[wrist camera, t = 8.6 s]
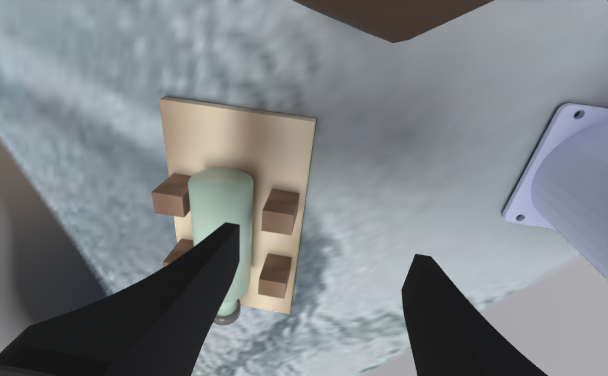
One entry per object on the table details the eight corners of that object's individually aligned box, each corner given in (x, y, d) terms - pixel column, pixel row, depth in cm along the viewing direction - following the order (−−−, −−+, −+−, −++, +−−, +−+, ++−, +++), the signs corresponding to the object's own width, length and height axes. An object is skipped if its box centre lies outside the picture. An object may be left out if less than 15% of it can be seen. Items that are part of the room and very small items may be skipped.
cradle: (316, 118, 19) (310, 136, 16) (290, 306, 28) (284, 342, 25) (165, 96, 20) (131, 110, 16) (187, 288, 28) (168, 320, 25)
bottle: (262, 174, 20) (237, 204, 17) (256, 299, 26) (237, 339, 23) (208, 163, 21) (174, 189, 18) (215, 287, 27) (190, 325, 24)
